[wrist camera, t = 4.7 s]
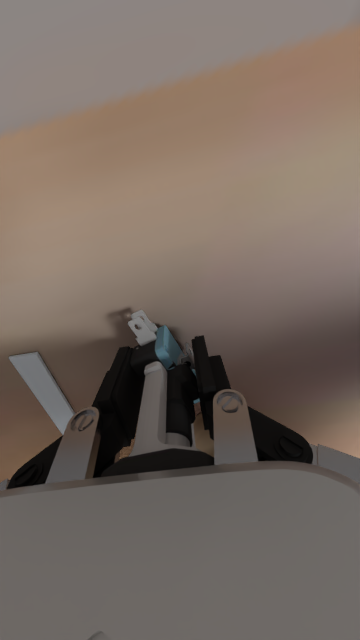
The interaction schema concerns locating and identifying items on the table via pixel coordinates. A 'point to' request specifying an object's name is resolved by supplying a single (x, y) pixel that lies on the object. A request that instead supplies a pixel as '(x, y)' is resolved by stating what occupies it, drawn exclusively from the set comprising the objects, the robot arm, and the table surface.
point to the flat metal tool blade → (44, 387)
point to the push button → (162, 404)
